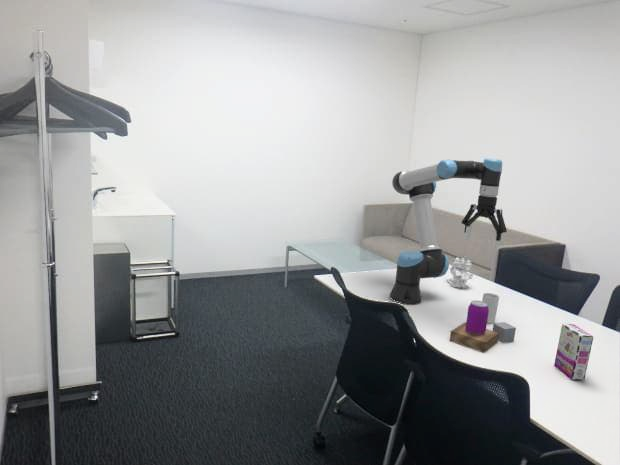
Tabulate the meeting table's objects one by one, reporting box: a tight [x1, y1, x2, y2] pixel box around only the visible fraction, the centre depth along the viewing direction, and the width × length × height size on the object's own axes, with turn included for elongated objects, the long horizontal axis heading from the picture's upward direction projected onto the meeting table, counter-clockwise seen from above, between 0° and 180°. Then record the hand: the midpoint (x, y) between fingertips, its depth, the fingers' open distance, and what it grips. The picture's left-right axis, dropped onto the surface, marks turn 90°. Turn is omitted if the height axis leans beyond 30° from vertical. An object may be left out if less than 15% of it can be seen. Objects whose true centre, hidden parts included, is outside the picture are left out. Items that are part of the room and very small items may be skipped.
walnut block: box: [449, 321, 499, 353], centre depth 194 cm, size 14×14×4 cm
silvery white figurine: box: [446, 256, 474, 289], centre depth 268 cm, size 20×10×18 cm, turn 3°
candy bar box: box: [554, 323, 594, 381], centre depth 172 cm, size 11×5×16 cm, turn 5°
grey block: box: [492, 321, 517, 344], centre depth 199 cm, size 6×6×6 cm
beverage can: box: [465, 300, 489, 335], centre depth 193 cm, size 8×8×12 cm
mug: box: [481, 292, 500, 324], centre depth 219 cm, size 10×7×12 cm, turn 178°
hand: (480, 244), depth 211 cm, fingers open, 13 cm apart
